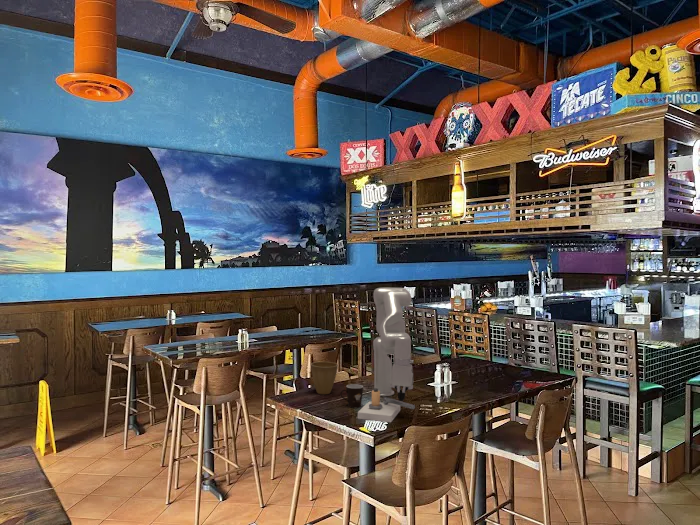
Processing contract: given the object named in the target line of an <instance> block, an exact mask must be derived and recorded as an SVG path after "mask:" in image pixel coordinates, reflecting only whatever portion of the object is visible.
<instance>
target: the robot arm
mask: <svg viewBox="0 0 700 525" xmlns="http://www.w3.org/2000/svg"><path fill="white" fill-rule="evenodd" d="M373 301H374V304H375V307H376V320H375V321H376V324H375V325H376V327H375V328H376V332H377V334H379V336H377V337H376V338H374V340H373V343H372V344H373V345H372V346H373V353H374V354H373V355H374V377H373V378H374V380H373V382H374V385H373V386H374V387H373V389H372V390H371V394H372V391H373V390H374V388H377V389H378V391H380V397H390V396H393V395H394V394H395V391H394V390H393V389H395V390H396V391H397V398H398V401H402V402H404V400H405V399H406V392H407V391H408V390H413V389H414V385H413V384H414V369H413V365H412V364H414V360H413V359H411V345H412V339H411V336H410V335H409V333H407V332H406V322H405V319H404V318H403V317H404V313H403V308H402V307H410V306H411V303H412V296H411V293H410V291H409V290H408V289H406V288H405V287H385V286H384V287H377V288H375V289H374V290H373ZM390 354H392V355H394V356H393V357H394V359H393V360H394V361H393V363H392V360H391V358H390V357H389V356H388V355H390ZM392 388H393V389H392Z"/></svg>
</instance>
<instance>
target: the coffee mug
mask: <svg viewBox="0 0 700 525" xmlns="http://www.w3.org/2000/svg"><path fill="white" fill-rule="evenodd" d="M343 392H346V395H347V396H346V397H347V398H345V397H344V396H343V395H342V394H343ZM363 392H364V385H362V384H357V383H355V384H353V383H351V384H347V385H346V389H343V390H341V391H340V395H339V396H340V398H342V399H343V400H345V401H347V407H349V408H353V409H354V408H355V409H357V408H361V407H362V400H363Z"/></svg>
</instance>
